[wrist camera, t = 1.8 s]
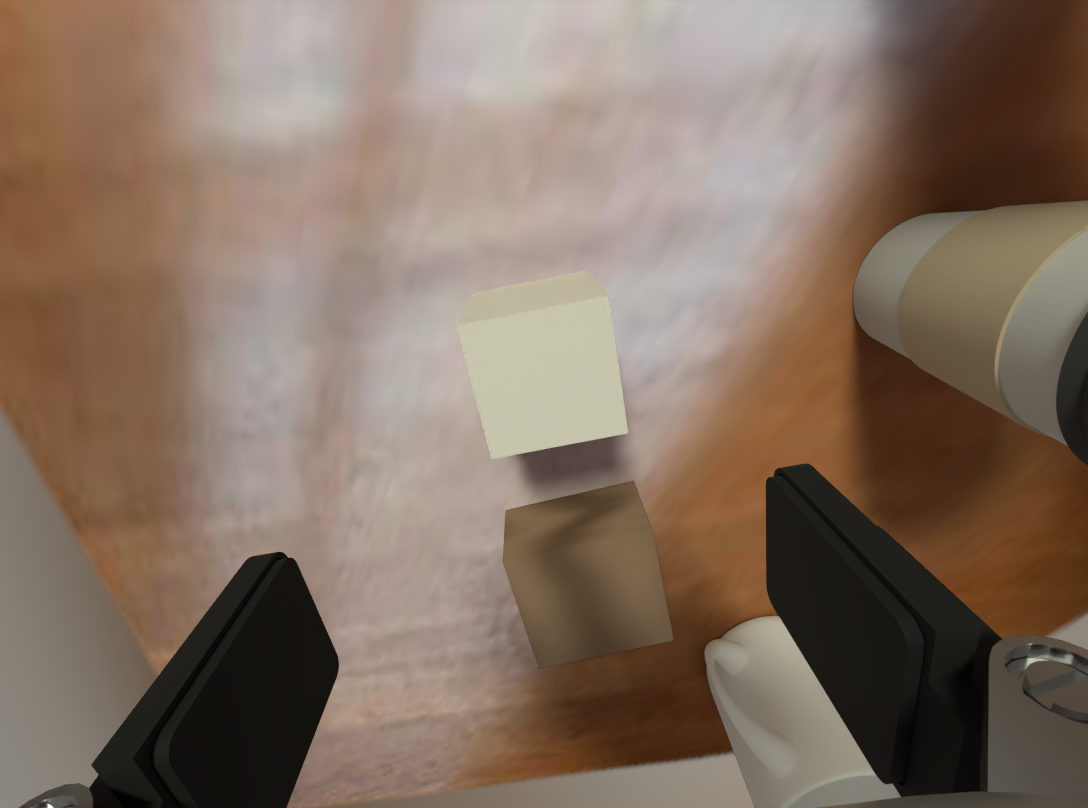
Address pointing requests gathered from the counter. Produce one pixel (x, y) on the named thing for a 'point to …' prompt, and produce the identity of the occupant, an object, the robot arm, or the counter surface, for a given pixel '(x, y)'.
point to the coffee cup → (991, 309)
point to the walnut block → (586, 575)
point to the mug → (785, 723)
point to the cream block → (543, 364)
